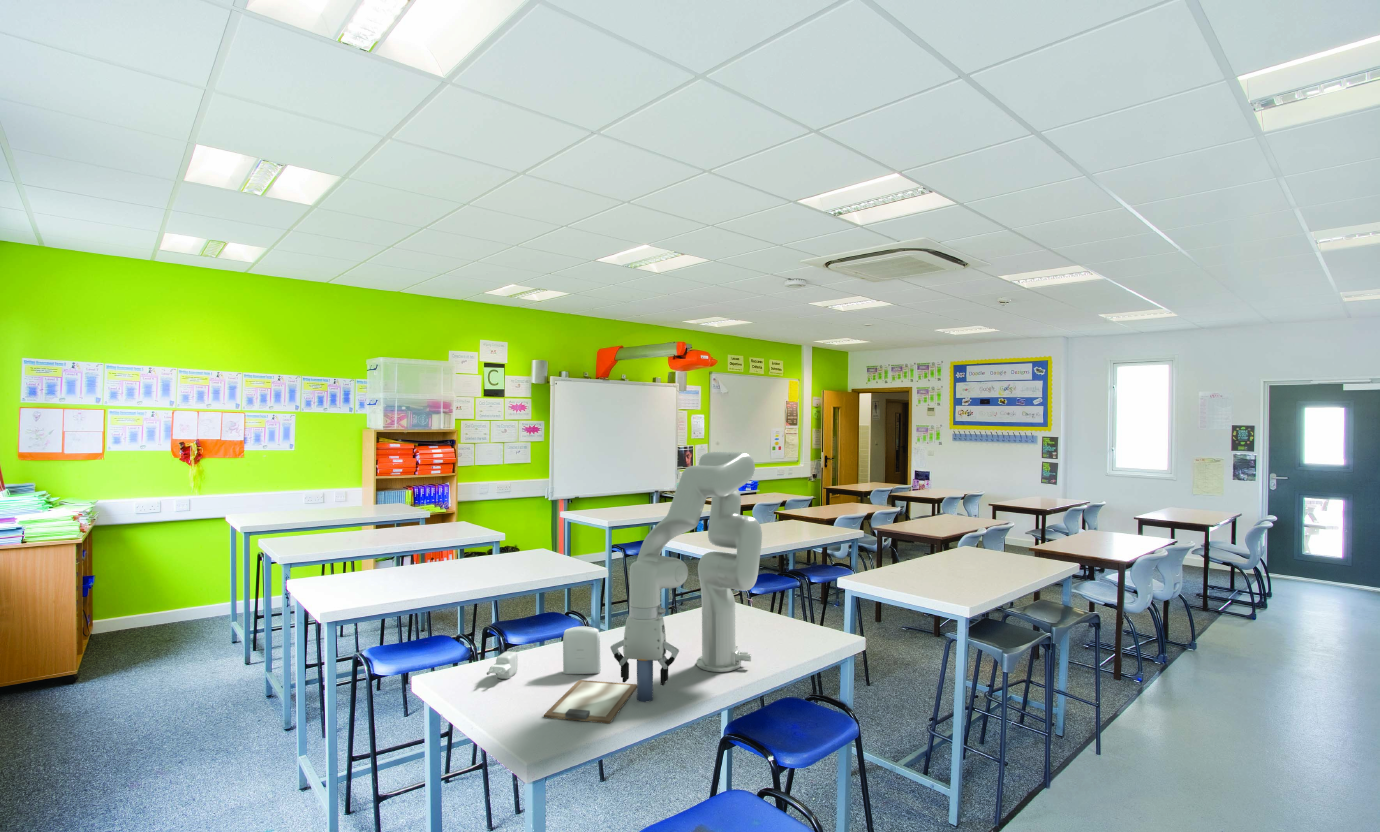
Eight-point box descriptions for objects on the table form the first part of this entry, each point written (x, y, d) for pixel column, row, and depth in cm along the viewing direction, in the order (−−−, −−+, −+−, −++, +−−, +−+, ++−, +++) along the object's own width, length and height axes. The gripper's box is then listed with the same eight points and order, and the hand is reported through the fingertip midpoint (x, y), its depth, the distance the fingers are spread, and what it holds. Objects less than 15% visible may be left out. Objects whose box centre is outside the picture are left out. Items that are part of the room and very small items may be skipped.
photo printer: (561, 675, 177) (561, 629, 178) (564, 669, 182) (564, 624, 182) (599, 675, 177) (599, 629, 178) (601, 669, 182) (601, 624, 182)
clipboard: (637, 686, 169) (637, 680, 169) (609, 723, 147) (609, 716, 147) (579, 681, 172) (579, 675, 172) (542, 718, 150) (542, 710, 150)
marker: (655, 695, 163) (655, 647, 163) (650, 702, 159) (650, 652, 159) (639, 694, 164) (639, 646, 164) (634, 701, 160) (634, 651, 160)
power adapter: (500, 687, 169) (500, 664, 169) (483, 686, 170) (483, 663, 170) (520, 672, 180) (520, 650, 180) (503, 671, 181) (503, 649, 181)
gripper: (682, 609, 164) (681, 679, 163) (616, 606, 167) (615, 674, 167) (675, 617, 156) (675, 690, 156) (606, 613, 160) (606, 684, 159)
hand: (644, 681), depth 161 cm, fingers open, 9 cm apart
